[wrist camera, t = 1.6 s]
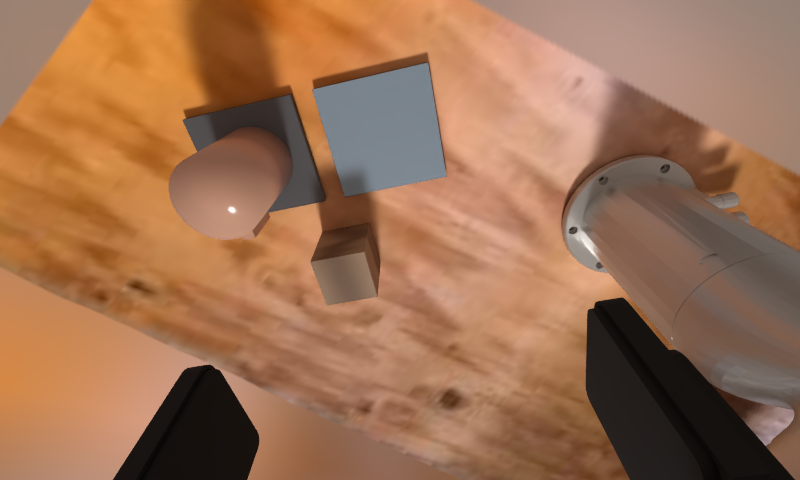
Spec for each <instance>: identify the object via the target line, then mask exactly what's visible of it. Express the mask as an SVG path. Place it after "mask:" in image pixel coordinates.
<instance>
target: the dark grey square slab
mask: <svg viewBox="0 0 800 480" xmlns="http://www.w3.org/2000/svg"><path fill="white" fill-rule="evenodd" d="M183 122H184V124H185V126H186V129H187V131H188V133H189V135H190V137H191V139H192V141H193V143H194V146H195V148H196V150H197V152H198V151H200V150H202V149H204V148H205V147H207V146H209V145H211V144H212V143H214V142H216V141H217V140H219V139H221V138H223V137H224V136H226V135H228V134H230V133H231V132H233V131H235V130H237V129H239V128H242V127H248V126H254V127H260V128H263V129H266V130H268V131H270V132H272V133H274V134H275V135H276V136H278V137H279V138H280V139H281V140H282V141H283V142H284V144H285V145H286V146H287V148H288V150H289V152H290V154H291V157H292V161H293V173H292V177H291V179H290V181H289V183H288V185H287V186H286V187H285V189H284V190H283V191H282V193H281V194H280V195H279V197H278V198H277V199H276V201H275V202H274V203H273V205H272V206H271V207H270V209H269V210H268V212H273V211H278V210H283V209H288V208H293V207H298V206H303V205H308V204H313V203H318V202H323V201H325V200H326V197H325V194H324V191H323V188H322V185H321V182H320V179H319V176H318V173H317V169H316V166H315V163H314V160H313V157H312V154H311V151H310V148H309V145H308V142H307V139H306V136H305V133H304V130H303V127H302V124H301V121H300V118H299V115H298V112H297V109H296V105H295V102H294V99H293V96H292V94H289V95H285V96H281V97H277V98H272V99H268V100H264V101H259V102H255V103H251V104H247V105H242V106H238V107H234V108H230V109H225V110H221V111H217V112H212V113H208V114H204V115H200V116H195V117H191V118H187V119H184V120H183Z"/></svg>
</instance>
